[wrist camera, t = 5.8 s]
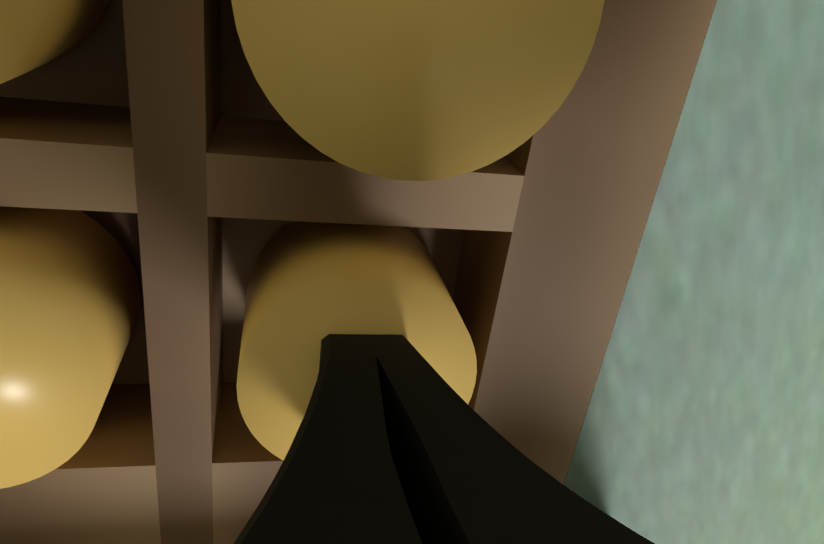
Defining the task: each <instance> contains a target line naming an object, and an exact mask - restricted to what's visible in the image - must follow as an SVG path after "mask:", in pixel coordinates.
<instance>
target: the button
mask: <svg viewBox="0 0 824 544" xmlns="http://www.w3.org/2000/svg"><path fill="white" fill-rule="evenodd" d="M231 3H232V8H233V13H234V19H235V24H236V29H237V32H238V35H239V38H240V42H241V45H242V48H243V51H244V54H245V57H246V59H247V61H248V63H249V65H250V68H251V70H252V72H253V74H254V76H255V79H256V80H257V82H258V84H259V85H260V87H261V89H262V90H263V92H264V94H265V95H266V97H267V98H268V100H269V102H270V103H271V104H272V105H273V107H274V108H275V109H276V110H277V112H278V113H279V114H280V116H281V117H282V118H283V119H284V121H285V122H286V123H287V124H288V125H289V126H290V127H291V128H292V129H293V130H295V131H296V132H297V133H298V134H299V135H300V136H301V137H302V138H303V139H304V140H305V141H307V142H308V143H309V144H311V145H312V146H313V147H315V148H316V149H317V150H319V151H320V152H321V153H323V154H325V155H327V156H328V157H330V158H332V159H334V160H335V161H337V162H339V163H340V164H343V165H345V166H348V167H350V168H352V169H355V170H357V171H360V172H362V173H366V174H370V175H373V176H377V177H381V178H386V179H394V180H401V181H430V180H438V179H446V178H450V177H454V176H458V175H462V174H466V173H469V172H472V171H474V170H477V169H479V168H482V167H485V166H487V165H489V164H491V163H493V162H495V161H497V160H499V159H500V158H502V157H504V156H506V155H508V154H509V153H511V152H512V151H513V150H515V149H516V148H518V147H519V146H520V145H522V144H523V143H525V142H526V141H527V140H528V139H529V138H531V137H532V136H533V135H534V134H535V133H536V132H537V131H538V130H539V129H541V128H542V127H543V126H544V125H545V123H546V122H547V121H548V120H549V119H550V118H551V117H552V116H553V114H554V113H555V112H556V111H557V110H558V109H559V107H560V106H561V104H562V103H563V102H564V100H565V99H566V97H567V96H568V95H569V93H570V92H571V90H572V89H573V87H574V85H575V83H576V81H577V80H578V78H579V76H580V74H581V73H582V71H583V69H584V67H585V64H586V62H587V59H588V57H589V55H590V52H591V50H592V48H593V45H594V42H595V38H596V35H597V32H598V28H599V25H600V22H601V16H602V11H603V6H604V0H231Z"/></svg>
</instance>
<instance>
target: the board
mask: <svg viewBox="0 0 824 544" xmlns="http://www.w3.org/2000/svg"><path fill="white" fill-rule="evenodd" d="M716 2H717V0H604V6H603V11H602V16H601V22H600V25H599V28H598V32H597V35H596V38H595V42H594V45H593V48H592V50H591V52H590V55H589V57H588V59H587V62H586V64H585V67H584V69H583V71H582V73H581V74H580V76H579V78H578V80H577V81H576V83H575V85H574V87H573V89H572V90H571V92H570V93H569V95H568V96H567V97H566V99H565V100H564V102H563V103H562V104H561V106H560V107H559V109H558V110H557V111H556V112H555V113H554V114H553V116H552V117H551V118H550V119H549V120H548V121H547V122H546V123H545V125H544V126H543V127H542V128H541V129H539V130H538V131H537V132H536V133H535V134H534V135H533V136H532V137H531V138H529V139H528V140H527V141H526V142H525V143H523V144H522V145H520V146H519V147H518V148H516V149H515V150H513V151H512V152H511V153H509V154H508V155H506V156H504V157H502V158H500V159H499V160H497V161H495V162H493V163H491V164H489V165H487V166H485V167H482V168H479V169H477V170H474V171H472V172H469V173H466V174H462V175H458V176H454V177H450V178H446V179H438V180H430V181H401V180H394V179H386V178H381V177H377V176H373V175H370V174H366V173H362V172H360V171H357V170H355V169H352V168H350V167H348V166H345V165H343V164H340V163H339V162H337V161H335V160H334V159H332V158H330V157H328V156H327V155H325V154H323V153H321V152H320V151H319V150H317V149H316V148H315V147H313V146H312V145H311V144H309V143H308V142H307V141H305V140H304V139H303V138H302V137H301V136H300V135H299V134H298V133H297V132H296V131H295V130H293V129H292V128H291V127H290V126H289V125H288V124H287V123H286V122H285V121H284V119H283V118H282V117H281V116H280V114H279V113H278V112H277V110H276V109H275V108H274V107H273V105H272V104H271V103H270V102H269V100H268V98H267V97H266V95H265V94H264V92H263V90H262V89H261V87H260V85H259V84H258V82H257V80H256V79H255V76H254V74H253V72H252V70H251V68H250V65H249V63H248V61H247V59H246V57H245V54H244V51H243V48H242V45H241V42H240V38H239V35H238V32H237V29H236V24H235V19H234V13H233V8H232V3H231V0H109V2H108V4H107V7H106V9H105V11H104V14H103V16H102V18H101V19H100V21H99V22H98V24H97V26H96V27H95V29H94V30H93V31H92V32H91V34H90V35H89V36H88V37H87V38H86V39H85V40H84V41H83V42H82V43H81V44H80V45H79V46H77V47H76V48H75V49H74V50H72V51H71V52H70V53H68V54H66V55H65V56H63V57H61V58H59V59H58V60H56V61H53V62H51V63H49V64H46V65H44V66H42V67H39V68H37V69H35V70H32V71H30V72H28V73H25V74H23V75H21V76H18V77H16V78H14V79H11V80H9V81H7V82H4V83H2V84H0V206H4V207H24V208H44V209H64V210H79V211H81V212H83V213H85V214H86V215H88V216H89V217H91V218H92V219H93V220H95V221H96V222H98V223H99V224H100V225H102V226H103V227H104V228H105V229H106V230H107V231H108V232H109V233H110V234H111V235H112V236H113V237H114V238H115V239H116V240H117V242H118V243H119V244H120V245H121V246H122V248H123V249H124V251H125V252H126V254H127V255H128V257H129V259H130V261H131V263H132V265H133V267H134V269H135V272H136V275H137V278H138V281H139V287H140V311H139V316H138V319H137V322H136V325H135V328H134V330H133V333H132V335H131V338H130V340H129V343H128V345H127V347H126V350H125V352H124V355H123V357H122V360H121V362H120V365H119V367H118V370H117V372H116V374H115V377H114V379H113V382H112V384H111V387H110V389H109V392H108V394H107V397H106V399H105V401H104V404H103V406H102V409H101V411H100V414H99V416H98V419H97V421H96V424H95V426H94V428H93V430H92V432H91V434H90V436H89V437H88V439H87V441H86V442H85V443H84V444H83V446H82V447H81V448H80V449H79V451H78V452H77V453H75V454H74V455H73V456H72V457H71V458H70V459H69V460H68V461H66V462H65V463H64V464H62V465H61V466H59V467H58V468H57V469H55V470H53V471H51V472H49V473H47V474H46V475H44V476H42V477H39V478H37V479H34V480H32V481H29V482H26V483H23V484H19V485H16V486H12V487H8V488H2V489H0V544H233V543H234V542H235V541H236V539H237V538H238V536H239V535H240V533H241V531H242V530H243V528H244V527H245V525H246V524H247V522H248V521H249V519H250V517H251V516H252V514H253V513H254V511H255V510H256V508H257V507H258V505H259V503H260V502H261V500H262V498H263V497H264V495H265V493H266V492H267V490H268V488H269V486H270V485H271V483H272V481H273V479H274V478H275V476H276V474H277V472H278V470H279V468H280V466H281V465H282V463H283V460H281V459H280V458H278V457H277V456H275V455H273V454H272V453H271V452H269V451H268V450H267V449H266V448H265V447H264V446H262V445H261V444H260V443H259V441H258V440H257V439H256V438H255V437H254V436H253V435H252V433H251V431H250V430H249V428H248V427H247V425H246V423H245V421H244V419H243V417H242V414H241V412H240V408H239V404H238V400H237V387H236V386H237V375H238V366H239V357H240V348H241V339H242V330H243V321H244V312H245V303H246V294H247V285H248V281H249V277H250V273H251V270H252V268H253V266H254V263H255V261H256V260H257V258H258V256H259V255H260V253H261V251H262V250H263V249H264V248H265V246H266V245H267V244H268V243H269V242H270V241H271V240H272V239H273V238H274V237H275V236H276V235H277V234H278V233H279V232H281V231H282V230H283V229H285V228H286V227H288V226H289V225H291V224H293V223H294V222H296V221H304V222H324V223H344V224H364V225H384V226H404V227H406V228H407V229H409V230H410V231H411V232H412V233H413V234H414V235H415V236H416V237H417V238H418V239H419V240H420V241H421V242H422V244H423V245H424V246H425V248H426V249H427V251H428V253H429V255H430V257H431V258H432V260H433V262H434V264H435V266H436V268H437V270H438V272H439V274H440V276H441V278H442V280H443V282H444V284H445V286H446V288H447V290H448V292H449V294H450V296H451V298H452V300H453V302H454V304H455V306H456V308H457V310H458V312H459V314H460V316H461V318H462V320H463V322H464V324H465V326H466V328H467V330H468V332H469V334H470V336H471V339H472V342H473V345H474V348H475V354H476V359H477V374H476V381H475V386H474V390H473V393H472V397H471V399H470V401H469V403H468V405H469V406H470V407H471V408H472V409H473V410H474V411H475V412H476V413H477V414H478V415H479V416H481V417H482V418H483V419H484V420H485V421H486V422H487V423H488V424H489V425H490V426H491V427H493V428H494V429H495V430H496V431H497V432H498V433H499V434H500V435H502V436H503V437H504V438H505V439H506V440H507V441H508V442H509V443H511V444H512V445H513V446H514V447H515V448H516V449H518V450H519V451H520V452H521V453H523V454H524V455H525V456H526V457H527V458H529V459H530V460H531V461H532V462H534V463H535V464H536V465H538V466H539V467H540V468H542V469H543V470H544V471H546V472H547V473H548V474H550V475H551V476H552V477H554V478H555V479H556V480H558V481H559V482H560V483H562V484H563V485H564V482H565V479H566V476H567V473H568V469H569V466H570V463H571V460H572V457H573V454H574V450H575V447H576V444H577V441H578V438H579V435H580V431H581V428H582V425H583V422H584V419H585V416H586V412H587V409H588V406H589V403H590V400H591V397H592V394H593V390H594V387H595V384H596V381H597V378H598V375H599V371H600V368H601V365H602V362H603V359H604V356H605V352H606V349H607V346H608V343H609V340H610V337H611V333H612V330H613V327H614V324H615V321H616V318H617V315H618V311H619V308H620V305H621V302H622V299H623V296H624V292H625V289H626V286H627V283H628V280H629V277H630V273H631V270H632V267H633V264H634V261H635V258H636V255H637V251H638V248H639V245H640V242H641V239H642V236H643V232H644V229H645V226H646V223H647V220H648V217H649V213H650V210H651V207H652V204H653V201H654V198H655V194H656V191H657V188H658V185H659V182H660V179H661V176H662V172H663V169H664V166H665V163H666V160H667V157H668V153H669V150H670V147H671V144H672V141H673V138H674V134H675V131H676V128H677V125H678V122H679V119H680V115H681V112H682V109H683V106H684V103H685V100H686V97H687V93H688V90H689V87H690V84H691V81H692V78H693V74H694V71H695V68H696V65H697V62H698V59H699V55H700V52H701V49H702V46H703V43H704V40H705V36H706V33H707V30H708V27H709V24H710V21H711V18H712V14H713V11H714V8H715V5H716Z"/></svg>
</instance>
